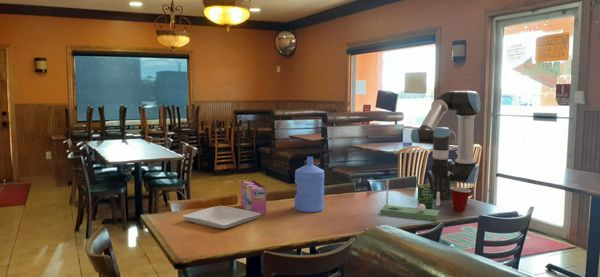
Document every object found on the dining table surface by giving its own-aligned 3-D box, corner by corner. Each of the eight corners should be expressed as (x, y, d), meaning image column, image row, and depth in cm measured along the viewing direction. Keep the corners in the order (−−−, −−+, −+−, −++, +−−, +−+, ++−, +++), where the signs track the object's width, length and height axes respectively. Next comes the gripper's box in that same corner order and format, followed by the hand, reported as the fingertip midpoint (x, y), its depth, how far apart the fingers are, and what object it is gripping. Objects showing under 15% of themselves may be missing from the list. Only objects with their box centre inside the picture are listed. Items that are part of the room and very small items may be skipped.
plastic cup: (471, 213, 248) (472, 191, 247) (450, 212, 250) (451, 189, 249) (468, 208, 259) (469, 187, 258) (448, 207, 261) (449, 186, 260)
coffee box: (418, 208, 257) (419, 184, 256) (416, 207, 260) (417, 183, 259) (432, 208, 257) (433, 185, 256) (431, 207, 260) (432, 184, 259)
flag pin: (386, 205, 253) (387, 179, 251) (387, 205, 252) (388, 179, 251) (384, 206, 249) (385, 180, 248) (386, 206, 249) (387, 180, 248)
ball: (418, 210, 242) (418, 202, 242) (426, 211, 241) (426, 203, 240) (416, 212, 238) (417, 204, 238) (425, 213, 237) (425, 205, 237)
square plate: (225, 233, 207) (225, 224, 206) (180, 223, 221) (180, 215, 221) (261, 219, 230) (262, 212, 229) (219, 211, 244) (219, 204, 244)
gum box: (239, 204, 258) (239, 180, 257) (253, 203, 261) (254, 179, 260) (251, 215, 236) (251, 188, 235) (266, 214, 239) (266, 188, 238)
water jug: (329, 209, 252) (330, 157, 249) (310, 214, 240) (311, 160, 238) (308, 204, 262) (308, 154, 260) (288, 209, 251) (289, 156, 248)
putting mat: (385, 209, 254) (385, 204, 254) (439, 215, 243) (439, 210, 243) (380, 214, 243) (380, 209, 243) (436, 220, 232) (436, 215, 232)
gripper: (425, 158, 233) (423, 205, 235) (453, 160, 228) (450, 208, 230) (427, 156, 240) (425, 202, 242) (454, 158, 235) (452, 205, 237)
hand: (438, 205), depth 236 cm, fingers closed
